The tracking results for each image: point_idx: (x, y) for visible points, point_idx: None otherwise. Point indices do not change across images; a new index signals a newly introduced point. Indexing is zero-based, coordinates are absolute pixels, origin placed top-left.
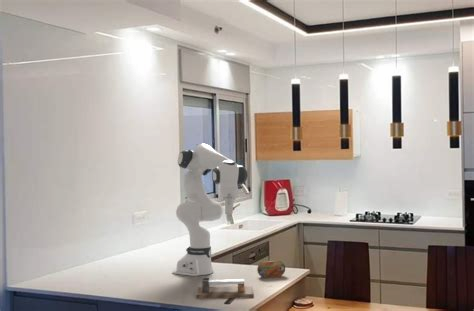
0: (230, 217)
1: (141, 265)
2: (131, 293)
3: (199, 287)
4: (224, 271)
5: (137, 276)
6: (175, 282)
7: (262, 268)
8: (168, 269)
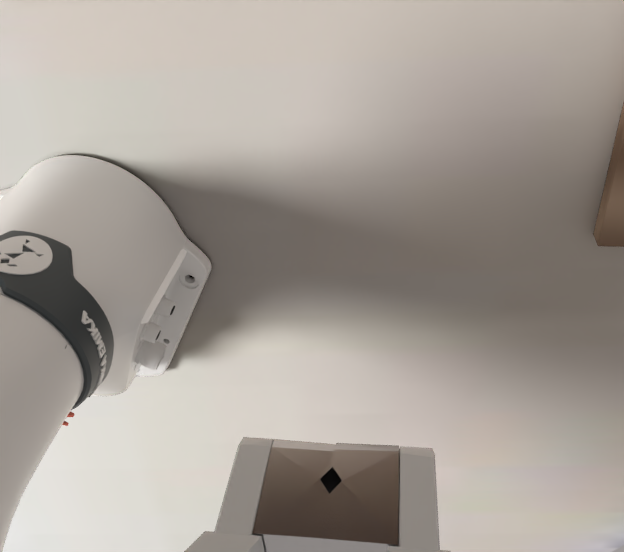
0: (439, 549)
1: None
2: (571, 503)
3: (611, 237)
4: (25, 72)
5: None
6: (366, 353)
7: None
8: None
